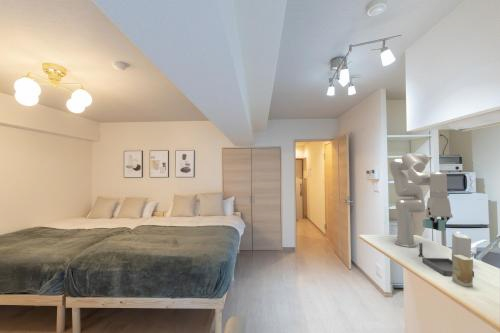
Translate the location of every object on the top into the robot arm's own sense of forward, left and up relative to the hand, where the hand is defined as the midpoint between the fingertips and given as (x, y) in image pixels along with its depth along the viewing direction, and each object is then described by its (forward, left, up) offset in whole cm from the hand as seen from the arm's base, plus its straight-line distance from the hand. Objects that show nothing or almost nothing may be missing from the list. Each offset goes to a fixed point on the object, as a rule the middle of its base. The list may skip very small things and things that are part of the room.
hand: (439, 229), depth 133 cm
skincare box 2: (+20, -3, -20) cm, 29 cm away
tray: (+3, +1, -20) cm, 20 cm away
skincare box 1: (-5, +15, -20) cm, 25 cm away
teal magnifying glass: (-4, 0, 0) cm, 4 cm away
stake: (-15, -1, -20) cm, 25 cm away
